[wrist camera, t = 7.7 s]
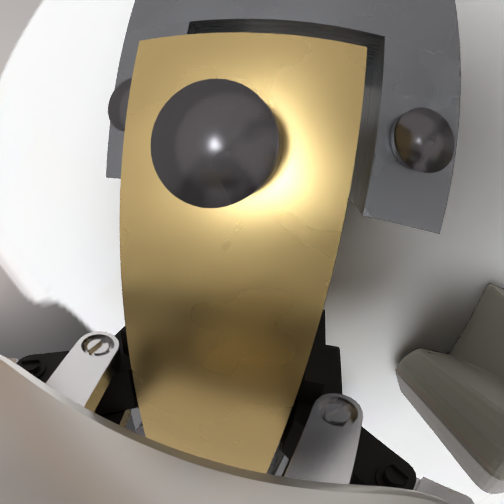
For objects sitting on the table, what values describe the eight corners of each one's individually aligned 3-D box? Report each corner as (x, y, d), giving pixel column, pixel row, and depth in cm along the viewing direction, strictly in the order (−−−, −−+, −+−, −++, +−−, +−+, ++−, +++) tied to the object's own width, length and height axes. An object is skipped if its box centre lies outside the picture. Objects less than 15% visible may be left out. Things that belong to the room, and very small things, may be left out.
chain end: (409, 49, 9) (461, -9, 4) (392, 202, 12) (448, 240, 6) (200, 25, 11) (134, -31, 5) (179, 167, 13) (93, 179, 8)
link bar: (341, 103, 8) (375, 27, 3) (263, 449, 14) (240, 534, 8) (220, 89, 9) (115, 28, 3) (196, 432, 14) (158, 509, 9)
